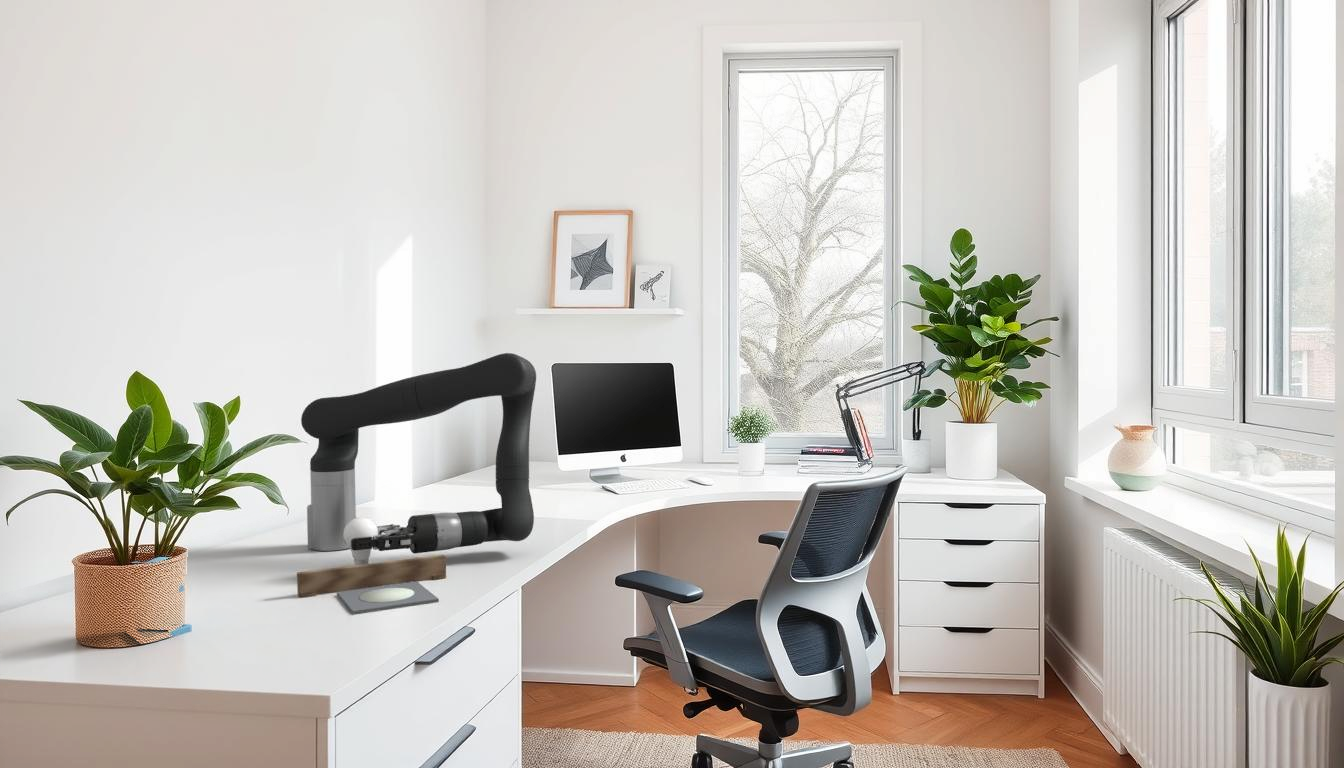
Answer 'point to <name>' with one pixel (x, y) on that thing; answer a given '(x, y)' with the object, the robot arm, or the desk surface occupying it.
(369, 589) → the mat
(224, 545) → the desk surface
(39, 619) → the desk surface
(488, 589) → the desk surface
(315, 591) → the walnut fence
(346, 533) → the lightbulb
